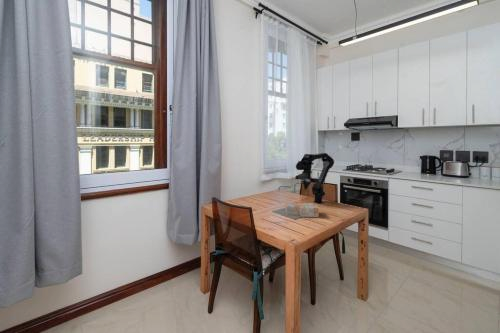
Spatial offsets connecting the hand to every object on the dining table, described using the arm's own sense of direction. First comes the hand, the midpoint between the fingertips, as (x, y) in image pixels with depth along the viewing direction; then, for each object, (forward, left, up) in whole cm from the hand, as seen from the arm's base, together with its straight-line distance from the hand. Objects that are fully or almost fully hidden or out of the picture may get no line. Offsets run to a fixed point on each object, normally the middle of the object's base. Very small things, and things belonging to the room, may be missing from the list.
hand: (305, 189), depth 192 cm
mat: (+26, +8, -13) cm, 30 cm away
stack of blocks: (+17, +10, -9) cm, 22 cm away
